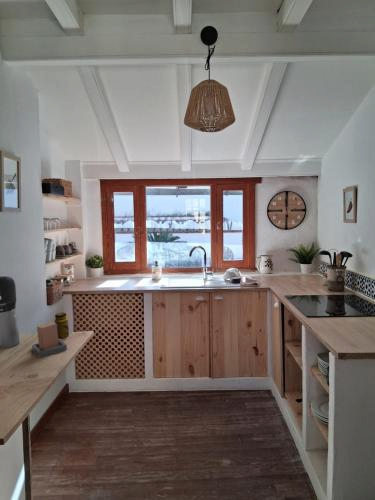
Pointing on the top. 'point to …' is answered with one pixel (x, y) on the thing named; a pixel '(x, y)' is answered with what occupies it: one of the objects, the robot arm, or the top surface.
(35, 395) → the top surface
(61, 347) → the tray
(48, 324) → the brick
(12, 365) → the top surface
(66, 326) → the condiment
